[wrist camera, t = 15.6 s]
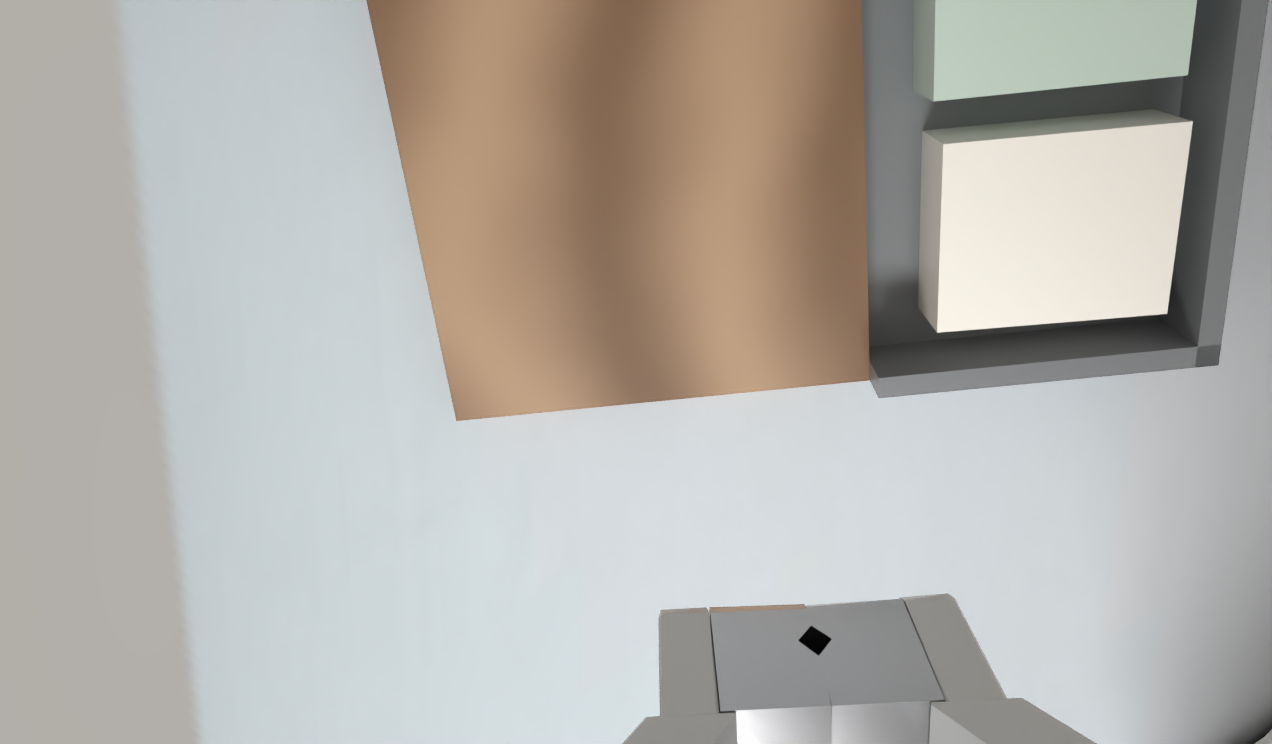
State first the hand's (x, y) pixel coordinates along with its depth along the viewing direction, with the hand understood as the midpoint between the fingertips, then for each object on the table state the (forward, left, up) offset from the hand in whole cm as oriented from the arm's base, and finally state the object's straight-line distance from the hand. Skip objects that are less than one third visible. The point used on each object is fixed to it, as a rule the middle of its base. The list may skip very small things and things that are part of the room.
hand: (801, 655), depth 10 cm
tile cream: (-9, +1, -18) cm, 20 cm away
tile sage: (-9, -5, -18) cm, 21 cm away
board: (+2, -2, -18) cm, 18 cm away
